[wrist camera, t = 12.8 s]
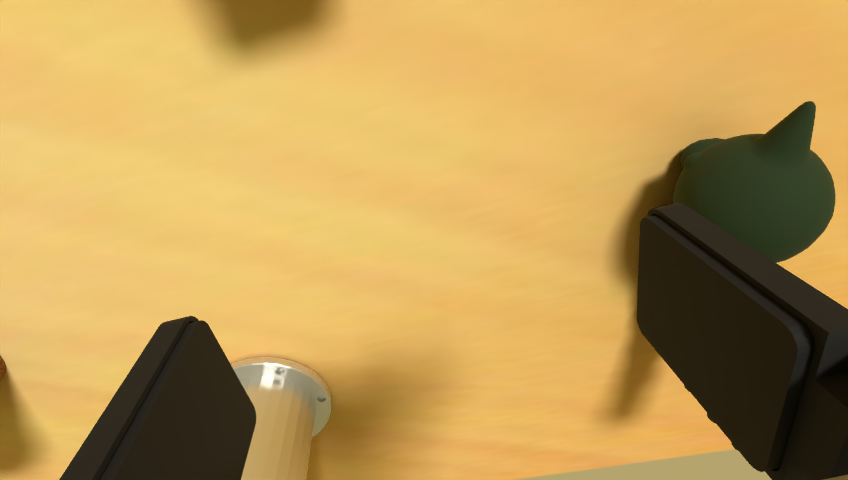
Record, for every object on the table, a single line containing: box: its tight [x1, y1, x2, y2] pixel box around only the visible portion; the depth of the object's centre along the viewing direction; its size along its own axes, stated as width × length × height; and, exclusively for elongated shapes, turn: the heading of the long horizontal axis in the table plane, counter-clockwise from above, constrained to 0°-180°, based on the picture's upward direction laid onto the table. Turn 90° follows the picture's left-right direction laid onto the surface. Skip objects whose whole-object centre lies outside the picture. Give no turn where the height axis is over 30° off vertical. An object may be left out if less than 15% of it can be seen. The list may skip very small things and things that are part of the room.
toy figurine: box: [673, 101, 835, 451], centre depth 33 cm, size 9×19×25 cm
